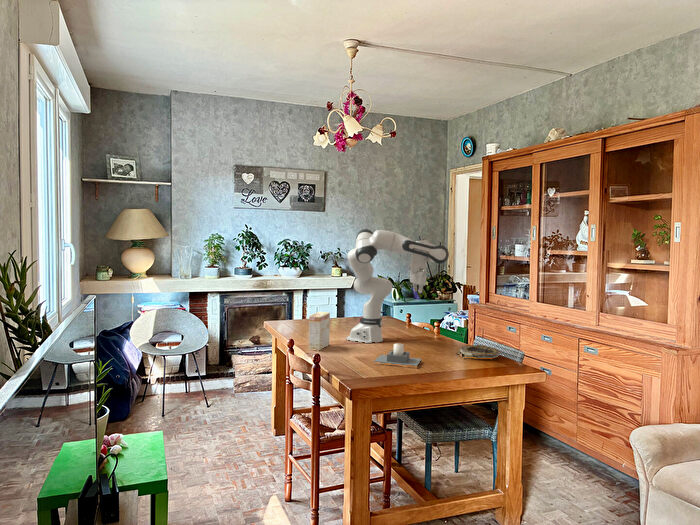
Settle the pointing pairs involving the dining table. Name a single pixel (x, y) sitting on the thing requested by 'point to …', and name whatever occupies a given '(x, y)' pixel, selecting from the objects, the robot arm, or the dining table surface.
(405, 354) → the roll caddy
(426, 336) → the dining table surface
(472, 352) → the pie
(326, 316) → the coffeecake box
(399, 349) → the paper roll
